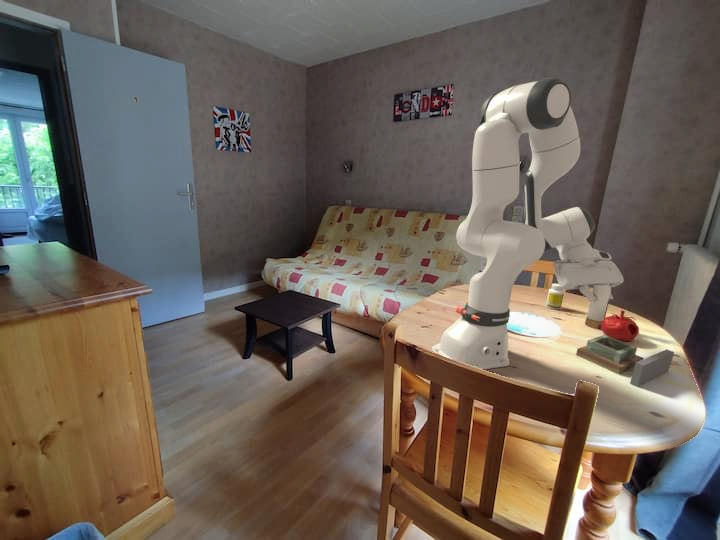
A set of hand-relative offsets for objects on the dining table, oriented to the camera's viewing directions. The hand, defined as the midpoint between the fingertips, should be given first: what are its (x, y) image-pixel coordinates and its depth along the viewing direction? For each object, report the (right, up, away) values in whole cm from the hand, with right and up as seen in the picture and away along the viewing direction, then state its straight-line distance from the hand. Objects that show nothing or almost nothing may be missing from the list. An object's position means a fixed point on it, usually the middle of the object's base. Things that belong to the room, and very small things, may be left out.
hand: (601, 300), depth 93 cm
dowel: (0, -6, +2) cm, 6 cm away
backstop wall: (+6, -19, -9) cm, 22 cm away
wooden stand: (+15, -12, +22) cm, 29 cm away
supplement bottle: (+9, -7, +39) cm, 41 cm away
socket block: (+2, -17, 0) cm, 17 cm away
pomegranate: (+15, -14, +14) cm, 25 cm away
